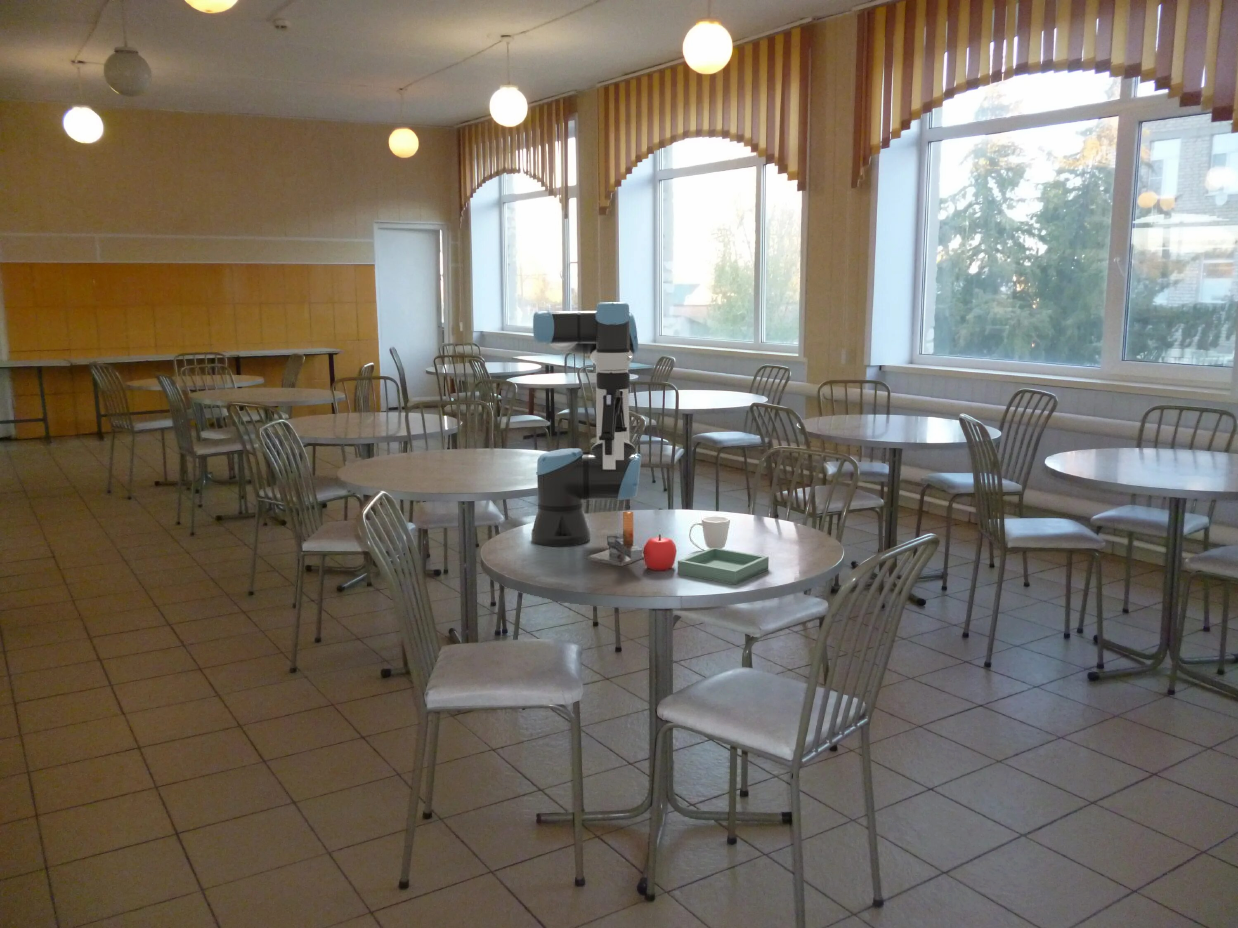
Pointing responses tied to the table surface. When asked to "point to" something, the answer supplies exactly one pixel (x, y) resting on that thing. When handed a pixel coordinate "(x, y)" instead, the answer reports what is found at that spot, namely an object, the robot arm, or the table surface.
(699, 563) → the tray
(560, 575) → the table surface
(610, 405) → the robot arm
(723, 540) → the cup
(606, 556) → the crank post
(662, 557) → the apple
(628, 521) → the crank
